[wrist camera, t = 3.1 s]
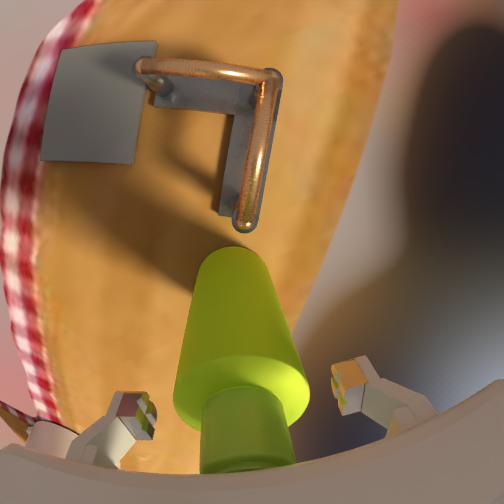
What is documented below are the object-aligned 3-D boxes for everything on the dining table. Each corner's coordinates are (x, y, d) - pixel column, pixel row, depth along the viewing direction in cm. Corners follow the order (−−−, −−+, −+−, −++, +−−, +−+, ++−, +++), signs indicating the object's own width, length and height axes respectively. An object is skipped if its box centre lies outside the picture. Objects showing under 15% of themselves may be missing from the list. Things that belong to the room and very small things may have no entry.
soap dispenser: (217, 222, 21) (193, 529, 3) (283, 275, 23) (391, 524, 4) (172, 277, 23) (93, 536, 4) (237, 323, 24) (263, 564, 6)
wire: (257, 219, 22) (269, 244, 15) (139, 203, 20) (106, 223, 14) (281, 86, 18) (303, 59, 12) (160, 71, 17) (136, 41, 11)
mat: (133, 164, 19) (131, 164, 19) (43, 160, 18) (40, 160, 18) (158, 43, 16) (156, 41, 16) (65, 51, 15) (61, 49, 15)
